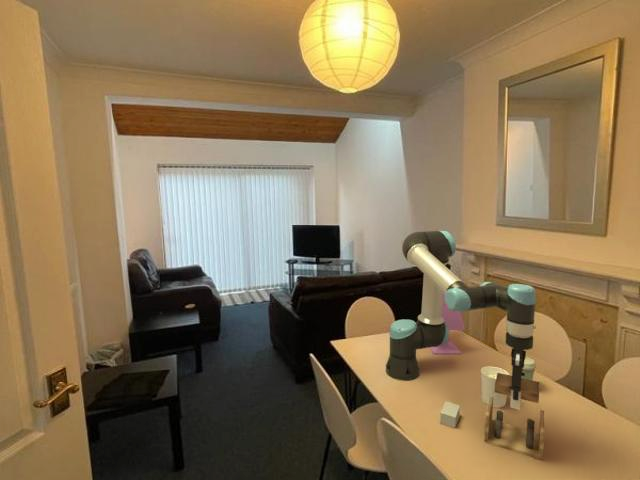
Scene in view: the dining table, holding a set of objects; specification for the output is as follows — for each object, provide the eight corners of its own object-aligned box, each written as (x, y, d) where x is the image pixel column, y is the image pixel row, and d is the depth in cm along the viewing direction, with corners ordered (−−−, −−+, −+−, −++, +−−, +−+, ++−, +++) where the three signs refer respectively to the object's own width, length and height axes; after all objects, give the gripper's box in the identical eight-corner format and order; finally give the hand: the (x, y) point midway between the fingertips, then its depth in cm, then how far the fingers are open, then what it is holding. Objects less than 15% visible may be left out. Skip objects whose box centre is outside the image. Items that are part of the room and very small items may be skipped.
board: (538, 390, 112) (539, 382, 111) (538, 403, 105) (539, 394, 105) (497, 380, 118) (497, 372, 118) (494, 392, 111) (495, 383, 111)
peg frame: (484, 441, 113) (485, 414, 112) (489, 421, 123) (490, 396, 122) (542, 460, 105) (544, 431, 103) (542, 437, 115) (544, 410, 113)
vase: (463, 355, 174) (466, 287, 169) (432, 355, 174) (434, 287, 169) (452, 342, 189) (454, 279, 185) (423, 342, 189) (424, 280, 185)
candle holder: (496, 412, 128) (498, 381, 127) (474, 398, 137) (475, 369, 135) (513, 404, 133) (515, 374, 131) (490, 391, 141) (492, 364, 140)
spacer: (455, 428, 120) (455, 417, 119) (440, 423, 123) (440, 412, 122) (459, 415, 127) (460, 405, 126) (445, 411, 129) (445, 401, 129)
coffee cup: (537, 393, 139) (539, 365, 138) (514, 391, 141) (516, 364, 139) (529, 382, 148) (531, 356, 146) (507, 380, 149) (509, 354, 148)
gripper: (532, 348, 98) (528, 422, 101) (534, 325, 116) (530, 388, 119) (503, 343, 102) (499, 414, 105) (508, 321, 120) (505, 383, 123)
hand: (516, 400), depth 112 cm, fingers closed on board, 8 cm apart
